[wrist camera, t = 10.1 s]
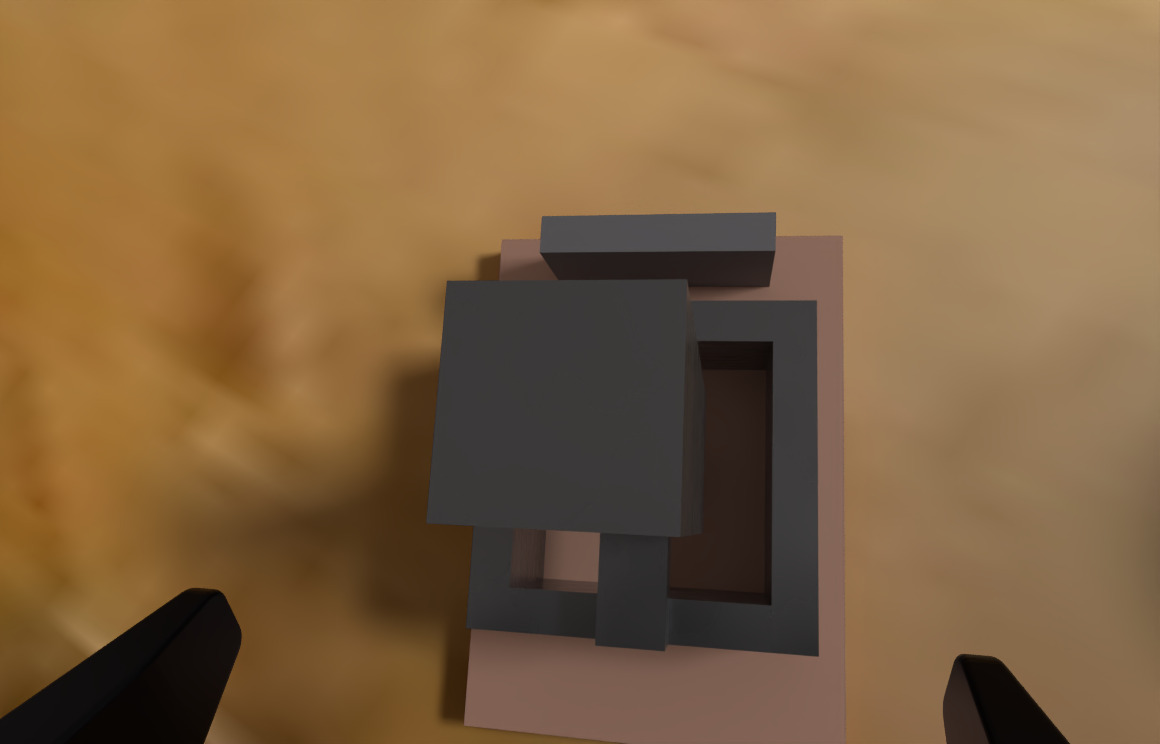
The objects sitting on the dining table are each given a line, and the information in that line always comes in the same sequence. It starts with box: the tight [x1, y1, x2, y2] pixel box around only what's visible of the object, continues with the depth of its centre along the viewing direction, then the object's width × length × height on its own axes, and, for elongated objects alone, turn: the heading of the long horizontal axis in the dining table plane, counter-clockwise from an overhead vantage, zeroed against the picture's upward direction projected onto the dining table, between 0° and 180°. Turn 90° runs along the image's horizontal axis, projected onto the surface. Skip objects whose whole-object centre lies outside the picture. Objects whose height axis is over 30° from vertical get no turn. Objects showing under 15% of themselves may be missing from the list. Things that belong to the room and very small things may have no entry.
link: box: [426, 279, 819, 657], centre depth 16 cm, size 8×8×13 cm
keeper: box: [464, 212, 846, 744], centre depth 21 cm, size 14×10×4 cm
